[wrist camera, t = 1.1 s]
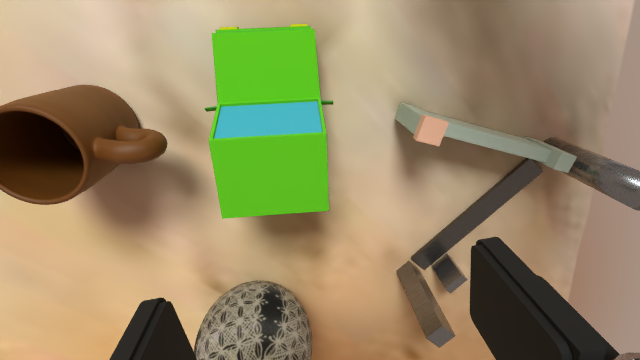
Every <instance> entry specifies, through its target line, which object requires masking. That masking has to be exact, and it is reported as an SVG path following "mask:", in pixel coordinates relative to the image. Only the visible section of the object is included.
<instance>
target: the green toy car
mask: <svg viewBox="0 0 640 360" xmlns="http://www.w3.org/2000/svg"><path fill="white" fill-rule="evenodd" d="M212 42H213V53H214V65H215V77H216V88H217V100H218V104H217V107H207V108H205V110H206V111H215V110H216V113H215V117H214V121H213V125H212V129H211V134H210V138H209V145H210V150H211V156H212V162H213V168H214V174H215V179H216V185H217V191H218V197H219V202H220V208H221V214H222V218H235V217H249V216H263V215H276V214H290V213H304V212H318V211H329V194H328V164H327V134H326V128H325V122H324V116H323V110H322V104H333V101H321V98H320V87H319V76H318V64H317V53H316V41H315V29H311V26H307V24H292V25H290V27H276V28H252V29H239V27H220V30H216V33H212Z"/></svg>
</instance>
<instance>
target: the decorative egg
mask: <svg viewBox="0 0 640 360" xmlns="http://www.w3.org/2000/svg"><path fill="white" fill-rule="evenodd" d="M194 354H195V356H196V358H197V360H311V355H312V335H311V328H310V323H309V320H308V317H307V314H306V312H305V310H304V308H303V306H302V305H301V303H300V302H299V300H298V299H297V298H296V297H295V296H294V295H293V294H292V293H291V292H290V291H289V290H287V289H286V288H284V287H282V286H280V285H278V284H275V283H272V282H267V281H252V282H247V283H243V284H240V285H238V286H236V287H234V288H232V289H230V290H229V291H227V292H226V293H225V294H224V295H222V296H221V297H220V298H219V299H218V300H217V301H216V302H215V303H214V304H213V306H212V307H211V308H210V309H209V311H208V313H207V314H206V316H205V318H204V320H203V322H202V324H201V326H200V329H199V332H198V335H197V338H196V342H195V347H194Z"/></svg>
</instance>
